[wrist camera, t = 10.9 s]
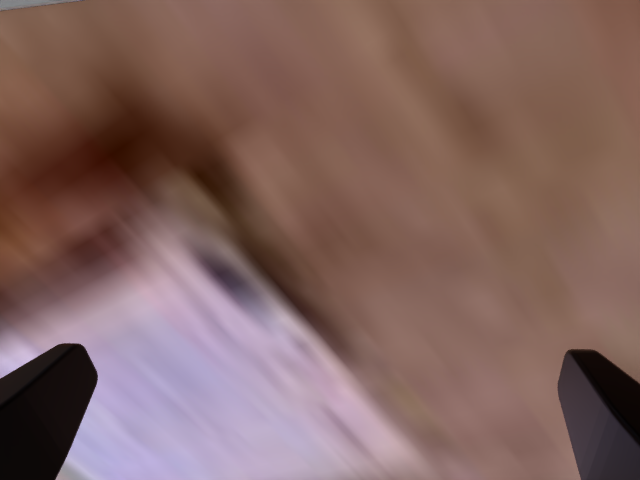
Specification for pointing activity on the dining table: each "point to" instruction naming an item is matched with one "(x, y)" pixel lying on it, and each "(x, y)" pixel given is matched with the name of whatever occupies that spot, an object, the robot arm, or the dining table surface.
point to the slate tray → (28, 3)
